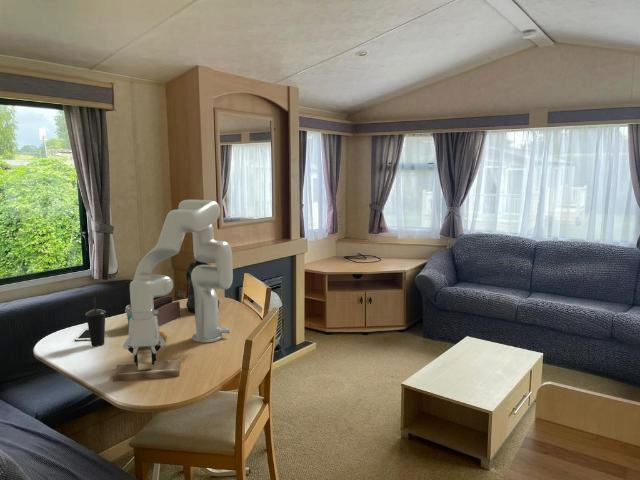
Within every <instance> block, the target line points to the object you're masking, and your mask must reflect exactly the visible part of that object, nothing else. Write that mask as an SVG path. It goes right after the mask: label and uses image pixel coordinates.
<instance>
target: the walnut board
mask: <svg viewBox="0 0 640 480" xmlns="http://www.w3.org/2000/svg"><path fill="white" fill-rule="evenodd" d="M115 367H116V368H115V370H114V371H113V374H112V382H113V383H116V382H117V383H118V382H125V381H126V382H127V381H137V380H140V381H141V380H149V379H159V378H160V379H161V378H171V377H172V378H173V377H180V374H181V359H175V360H174V359H172V360H169V359H168V360H160V361H158V360H157V361H155V362H154V365H153V367H152V369H147V370H138V366H136V363H134V362H133V363H124V364H123V363H122V364H117V365H116V366H115Z"/></svg>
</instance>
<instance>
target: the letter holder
mask: <svg viewBox="0 0 640 480" xmlns="http://www.w3.org/2000/svg"><path fill="white" fill-rule="evenodd" d="M153 300H154V309H155V310H158V314H155V315H154V316H157V320H158V325H159V327H161V326H163V325H165V324H167V323H169V322H172V321H174V320H176V319H178V318H180V317H181V304H180V301H178V300H177V301H173V297H172V295H165V296H160V297H154V298H153Z"/></svg>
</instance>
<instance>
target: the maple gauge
mask: <svg viewBox="0 0 640 480" xmlns="http://www.w3.org/2000/svg"><path fill="white" fill-rule="evenodd" d="M137 357H138V370H147V369H152V367H153V365H152V349H151V346H145V347H138V350H137Z"/></svg>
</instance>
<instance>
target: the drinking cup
mask: <svg viewBox="0 0 640 480" xmlns="http://www.w3.org/2000/svg"><path fill="white" fill-rule="evenodd" d="M93 307H94V308H93V309H90V310H89V311H87V312H85V313H84V314H85V316H86V320H87V321H86V322H87V329H88V328H89V333H90V339H91V341H90V343H91V346H92V347H94V348H95V347H102V346H103V345H105V334H106V333H105V331H106V330H105V329H106V314H107V312H106V310H103V309H101V308H100V309H99V308H97V300H96V296H95V297H93Z"/></svg>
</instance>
